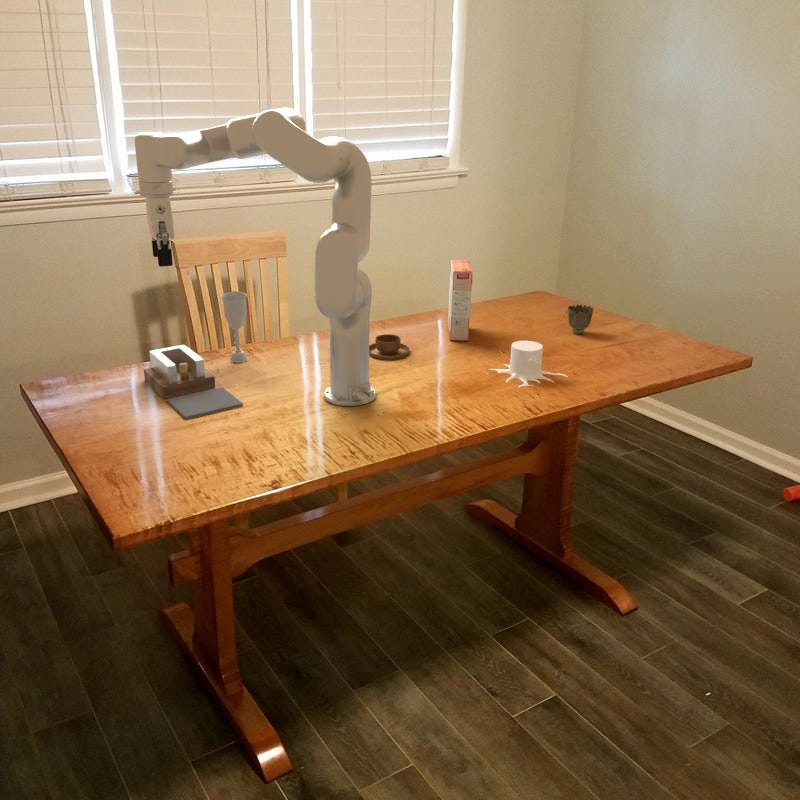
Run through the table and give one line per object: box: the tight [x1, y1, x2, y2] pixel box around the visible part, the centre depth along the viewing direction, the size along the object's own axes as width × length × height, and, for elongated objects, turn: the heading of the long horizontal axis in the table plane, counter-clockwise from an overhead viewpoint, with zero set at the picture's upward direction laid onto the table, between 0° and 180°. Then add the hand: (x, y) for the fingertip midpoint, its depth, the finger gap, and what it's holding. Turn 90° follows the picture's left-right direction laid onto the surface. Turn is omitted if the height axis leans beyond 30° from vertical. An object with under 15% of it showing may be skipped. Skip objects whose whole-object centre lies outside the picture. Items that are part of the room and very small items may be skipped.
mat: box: [166, 386, 244, 420], centre depth 188 cm, size 12×14×1 cm
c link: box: [149, 344, 205, 384], centre depth 198 cm, size 13×9×4 cm
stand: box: [143, 363, 216, 399], centre depth 198 cm, size 14×13×6 cm
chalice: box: [220, 291, 249, 364], centre depth 212 cm, size 7×7×18 cm
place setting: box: [369, 333, 410, 361], centre depth 223 cm, size 18×20×6 cm
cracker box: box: [447, 259, 474, 342], centre depth 234 cm, size 14×6×21 cm, turn 179°
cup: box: [567, 303, 594, 335], centre depth 239 cm, size 8×7×8 cm
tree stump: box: [488, 340, 568, 388], centre depth 208 cm, size 20×19×8 cm
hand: (162, 261), depth 192 cm, fingers open, 9 cm apart
